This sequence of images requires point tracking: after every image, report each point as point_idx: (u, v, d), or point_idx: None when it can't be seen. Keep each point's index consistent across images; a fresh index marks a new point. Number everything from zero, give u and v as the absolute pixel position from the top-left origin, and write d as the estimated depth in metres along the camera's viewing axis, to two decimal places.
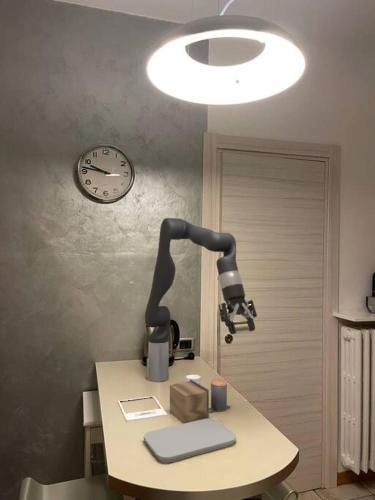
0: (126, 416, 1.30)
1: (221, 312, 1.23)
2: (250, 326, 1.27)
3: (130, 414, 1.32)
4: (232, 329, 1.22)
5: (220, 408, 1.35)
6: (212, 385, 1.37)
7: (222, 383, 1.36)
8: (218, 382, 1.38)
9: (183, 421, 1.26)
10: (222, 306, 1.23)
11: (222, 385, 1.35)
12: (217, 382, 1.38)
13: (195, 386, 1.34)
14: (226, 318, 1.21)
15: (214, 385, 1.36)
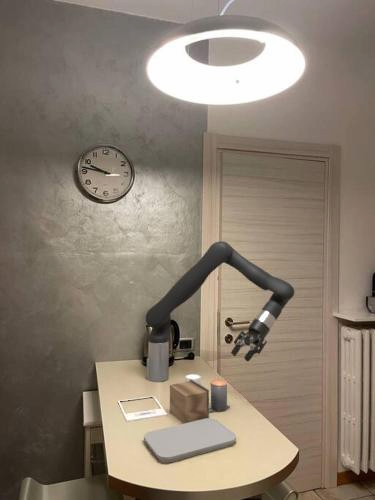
0: (126, 416, 1.30)
1: (261, 345, 1.39)
2: (235, 351, 1.46)
3: (130, 414, 1.32)
4: None
5: (220, 408, 1.35)
6: (212, 385, 1.37)
7: (222, 383, 1.36)
8: (218, 382, 1.38)
9: (183, 421, 1.26)
10: (265, 343, 1.40)
11: (222, 385, 1.35)
12: (217, 382, 1.38)
13: (195, 386, 1.34)
14: None
15: (214, 385, 1.36)
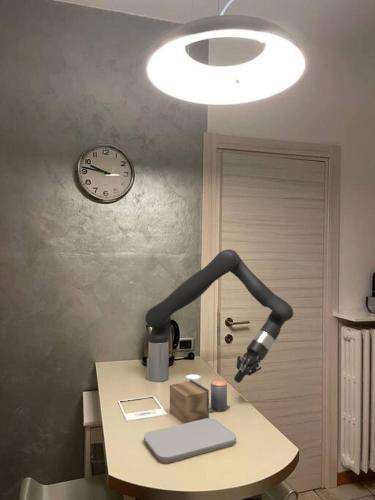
0: (126, 416, 1.31)
1: (253, 369, 1.40)
2: None
3: (130, 414, 1.32)
4: None
5: (220, 408, 1.35)
6: (212, 385, 1.37)
7: (222, 383, 1.36)
8: (218, 382, 1.38)
9: (183, 421, 1.26)
10: (258, 369, 1.40)
11: (222, 385, 1.35)
12: (217, 382, 1.38)
13: (195, 386, 1.34)
14: None
15: (214, 385, 1.36)
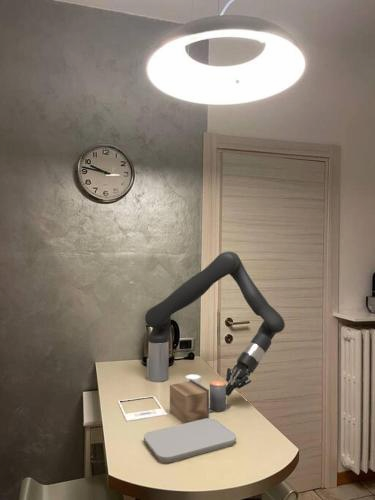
0: (126, 416, 1.31)
1: (242, 383, 1.38)
2: None
3: (130, 414, 1.32)
4: None
5: (219, 408, 1.35)
6: (211, 385, 1.36)
7: (221, 383, 1.36)
8: (217, 382, 1.37)
9: (183, 421, 1.26)
10: (248, 382, 1.38)
11: (221, 385, 1.35)
12: (216, 382, 1.38)
13: (195, 386, 1.34)
14: None
15: (213, 385, 1.36)
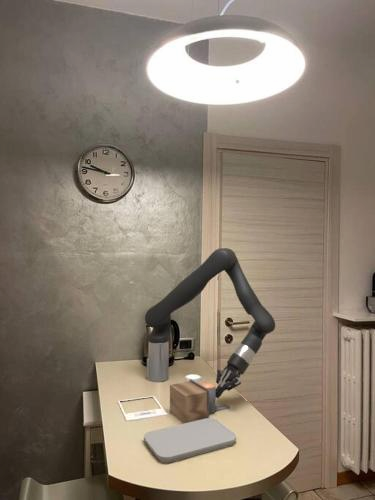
0: (126, 416, 1.31)
1: (232, 385, 1.36)
2: None
3: (130, 414, 1.32)
4: None
5: None
6: None
7: (210, 385, 1.34)
8: (206, 384, 1.35)
9: (183, 421, 1.26)
10: (237, 384, 1.36)
11: (210, 387, 1.33)
12: (206, 384, 1.35)
13: (195, 386, 1.34)
14: None
15: None
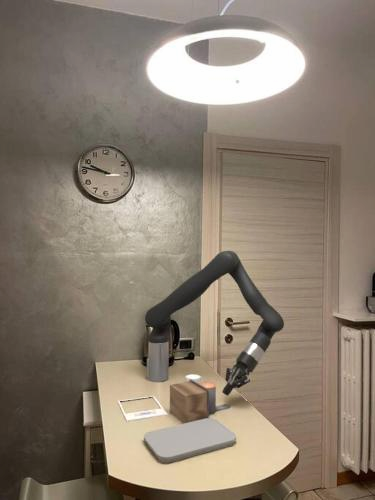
0: (126, 416, 1.31)
1: (241, 382, 1.37)
2: None
3: (130, 414, 1.32)
4: None
5: None
6: None
7: (210, 385, 1.34)
8: (207, 384, 1.35)
9: (183, 421, 1.26)
10: (247, 382, 1.37)
11: (210, 387, 1.33)
12: (206, 384, 1.35)
13: (195, 386, 1.34)
14: None
15: None
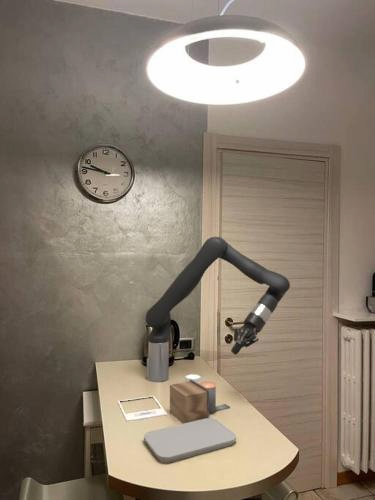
0: (126, 416, 1.31)
1: (250, 341, 1.40)
2: None
3: (130, 414, 1.32)
4: None
5: None
6: None
7: (210, 385, 1.34)
8: (207, 384, 1.35)
9: (183, 421, 1.26)
10: (255, 340, 1.40)
11: (210, 387, 1.33)
12: (206, 384, 1.35)
13: (195, 386, 1.34)
14: None
15: None
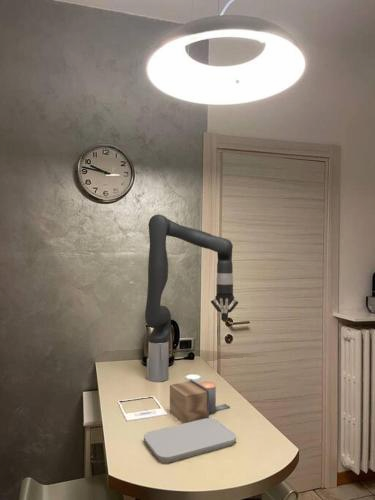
0: (126, 416, 1.31)
1: (234, 307, 1.66)
2: None
3: (130, 414, 1.32)
4: None
5: None
6: None
7: (210, 385, 1.34)
8: (207, 384, 1.35)
9: (183, 421, 1.26)
10: None
11: (210, 387, 1.33)
12: (206, 384, 1.35)
13: (195, 386, 1.34)
14: None
15: None
